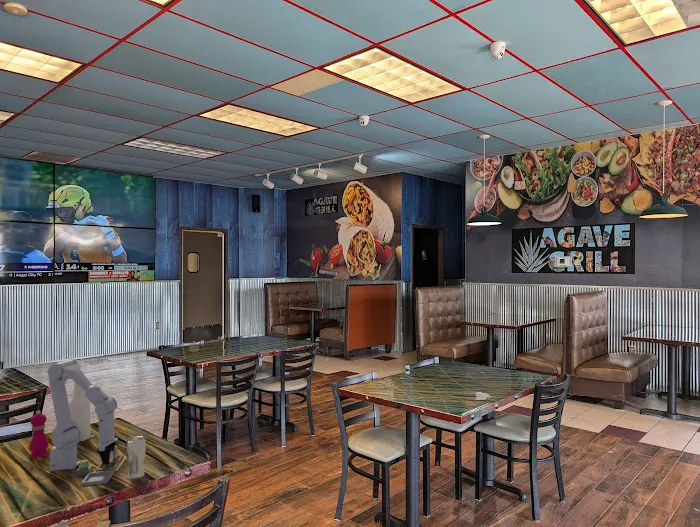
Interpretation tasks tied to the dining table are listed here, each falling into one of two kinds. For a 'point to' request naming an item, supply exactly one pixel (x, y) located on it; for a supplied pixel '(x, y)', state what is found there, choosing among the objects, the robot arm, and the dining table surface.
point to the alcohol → (81, 412)
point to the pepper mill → (38, 436)
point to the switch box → (84, 471)
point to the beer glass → (135, 456)
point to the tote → (97, 478)
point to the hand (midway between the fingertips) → (107, 462)
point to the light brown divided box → (117, 462)
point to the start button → (84, 464)
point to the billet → (109, 461)
